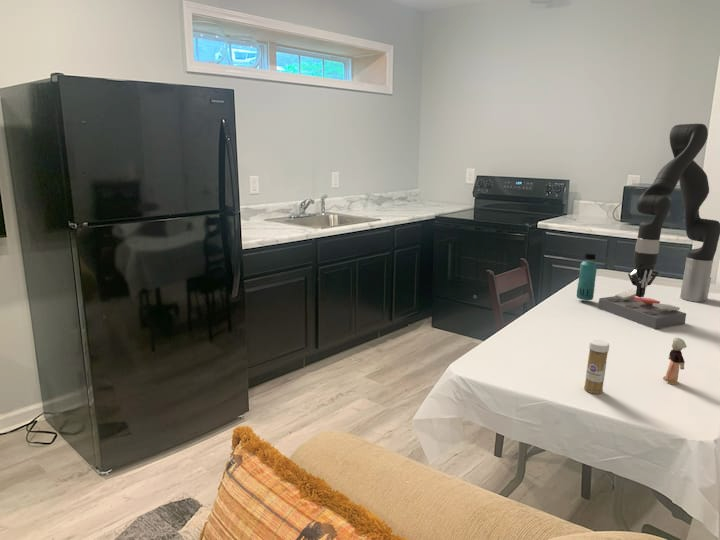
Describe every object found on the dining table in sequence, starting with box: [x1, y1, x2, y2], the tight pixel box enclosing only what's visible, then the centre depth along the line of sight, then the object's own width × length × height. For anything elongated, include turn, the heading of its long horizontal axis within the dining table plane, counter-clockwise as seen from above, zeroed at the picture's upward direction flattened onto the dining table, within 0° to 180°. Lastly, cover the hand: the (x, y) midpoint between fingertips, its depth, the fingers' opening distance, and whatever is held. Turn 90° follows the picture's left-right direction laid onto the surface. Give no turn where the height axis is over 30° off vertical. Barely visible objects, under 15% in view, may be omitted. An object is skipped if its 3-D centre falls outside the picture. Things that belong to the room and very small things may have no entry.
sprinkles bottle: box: [583, 339, 610, 395], centre depth 138 cm, size 5×5×13 cm
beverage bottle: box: [576, 252, 598, 301], centre depth 213 cm, size 6×7×20 cm
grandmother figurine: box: [662, 337, 688, 386], centre depth 143 cm, size 8×4×13 cm, turn 5°
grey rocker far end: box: [652, 303, 681, 311], centre depth 192 cm, size 9×4×2 cm, turn 113°
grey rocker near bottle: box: [614, 288, 637, 300], centre depth 206 cm, size 9×4×2 cm, turn 113°
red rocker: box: [634, 296, 661, 305], centre depth 199 cm, size 9×4×2 cm, turn 113°
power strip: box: [597, 295, 687, 330], centre depth 199 cm, size 15×25×4 cm, turn 23°
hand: (639, 296), depth 197 cm, fingers closed
